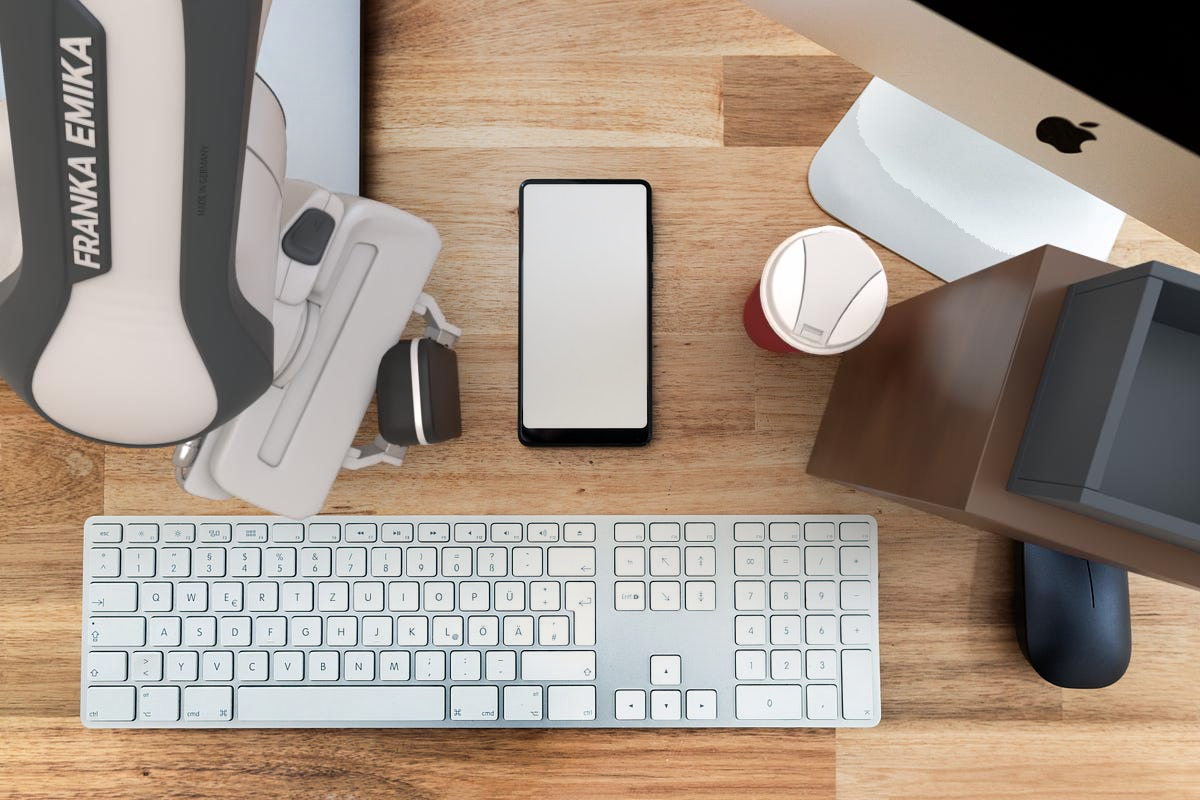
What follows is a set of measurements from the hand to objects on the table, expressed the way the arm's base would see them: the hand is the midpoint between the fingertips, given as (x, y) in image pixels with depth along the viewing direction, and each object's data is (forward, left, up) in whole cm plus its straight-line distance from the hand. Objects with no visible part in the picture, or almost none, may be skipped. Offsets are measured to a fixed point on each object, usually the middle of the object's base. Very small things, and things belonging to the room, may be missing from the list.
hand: (428, 395), depth 58 cm
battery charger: (0, -1, -6) cm, 6 cm away
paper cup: (-14, +22, -6) cm, 27 cm away
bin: (-9, +34, +22) cm, 42 cm away
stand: (-9, +34, -6) cm, 36 cm away
